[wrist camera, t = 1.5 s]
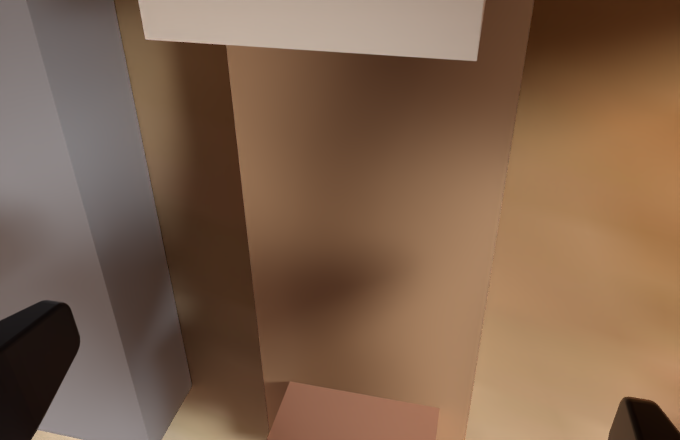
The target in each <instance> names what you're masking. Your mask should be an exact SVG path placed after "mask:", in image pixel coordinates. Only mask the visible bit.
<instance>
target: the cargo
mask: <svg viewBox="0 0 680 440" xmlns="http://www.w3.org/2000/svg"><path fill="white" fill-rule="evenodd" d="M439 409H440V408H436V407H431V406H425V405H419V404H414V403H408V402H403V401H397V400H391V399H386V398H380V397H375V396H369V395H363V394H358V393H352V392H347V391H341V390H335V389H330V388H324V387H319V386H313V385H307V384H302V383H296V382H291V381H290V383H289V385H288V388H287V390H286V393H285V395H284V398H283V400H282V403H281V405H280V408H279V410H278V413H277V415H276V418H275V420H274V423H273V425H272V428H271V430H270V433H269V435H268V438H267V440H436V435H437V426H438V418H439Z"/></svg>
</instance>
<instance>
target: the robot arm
mask: <svg viewBox="0 0 680 440" xmlns="http://www.w3.org/2000/svg"><path fill="white" fill-rule="evenodd" d="M79 347H80V335H79V331H78V328H77V325H76V322H75V319H74V316H73V313H72V310H71V308H70V306H69V305H68V304H66V303H64V302H58V301H52V300H42V301H40V302H38V303H36V304H33V305H31V306H29V307H27V308H25V309H23V310H21V311H19V312H17V313H15V314H13V315H11V316H8V317H6V318H4V319H2V320H0V440H31V439H32V438H33V436H34V434H35V433H36V431H37V429H38V428H39V426H40V424H41V422H42V420H43V419H44V417H45V415H46V413H47V411H48V409H49V407H50V405H51V403H52V401H53V399H54V397H55V395H56V393H57V391H58V390H59V388H60V386H61V384H62V382H63V380H64V378H65V376H66V374H67V372H68V370H69V368H70V366H71V364H72V362H73V360H74V358H75V356H76V354H77V352H78V350H79ZM608 440H680V432H679V431H678V430H677V428H676V427H675V426H674V424H673V423H672V422H671V421H670V419H669V418H668V417H667V416H666V414H665V413H664V412H663V411H662V409H661V408H660V407H659V406H658V405H657V404H656V403H655V402H653V401H651V400H646V399H640V398H634V397H624V398H623V399H622V400H621V402H620V404H619V407H618V410H617V413H616V415H615V418H614V421H613V424H612V427H611V429H610V432H609V437H608Z"/></svg>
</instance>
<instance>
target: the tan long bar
mask: <svg viewBox="0 0 680 440" xmlns="http://www.w3.org/2000/svg"><path fill="white" fill-rule="evenodd" d="M533 6H534V0H486V2H485V9H484V15H483V22H482V29H481V36H480V42H479V49H478V56H477V61H466V60H451V59H435V58H420V57H405V56H389V55H374V54H359V53H343V52H328V51H313V50H298V49H282V48H267V47H252V46H236V45H226V50H227V59H228V67H229V76H230V85H231V94H232V103H233V112H234V121H235V130H236V139H237V148H238V157H239V166H240V175H241V184H242V193H243V202H244V211H245V220H246V228H247V237H248V246H249V255H250V264H251V273H252V282H253V291H254V300H255V309H256V318H257V327H258V336H259V345H260V354H261V363H262V372H263V381H264V390H265V398H266V407H267V416H268V425H269V433H270V430H271V428H272V425H273V423H274V420H275V418H276V415H277V413H278V410H279V408H280V405H281V403H282V400H283V398H284V395H285V393H286V390H287V388H288V385H289V383H290V381H291V382H296V383H302V384H307V385H313V386H319V387H324V388H330V389H335V390H341V391H347V392H352V393H358V394H363V395H369V396H375V397H380V398H386V399H391V400H397V401H403V402H408V403H414V404H419V405H425V406H431V407H436V408H440V409H439V418H438V426H437V435H436V440H465V435H466V429H467V422H468V416H469V410H470V403H471V397H472V391H473V384H474V378H475V372H476V365H477V359H478V353H479V347H480V340H481V334H482V328H483V321H484V315H485V309H486V302H487V296H488V290H489V283H490V277H491V271H492V264H493V258H494V252H495V246H496V239H497V233H498V227H499V220H500V214H501V208H502V201H503V195H504V189H505V182H506V176H507V170H508V163H509V157H510V151H511V144H512V138H513V132H514V126H515V119H516V113H517V107H518V100H519V94H520V88H521V81H522V75H523V69H524V62H525V56H526V50H527V43H528V37H529V31H530V25H531V18H532V12H533Z"/></svg>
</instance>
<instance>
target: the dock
mask: <svg viewBox="0 0 680 440" xmlns="http://www.w3.org/2000/svg"><path fill="white" fill-rule="evenodd" d="M42 300H52V301H58V302H64V303H66V304H68V305H69V306H70V308H71V310H72V313H73V316H74V319H75V322H76V325H77V328H78V331H79V335H80V347H79V350H78V352H77V354H76V356H75V358H74V360H73V362H72V364H71V366H70V368H69V370H68V372H67V374H66V376H65V378H64V380H63V382H62V384H61V386H60V388H59V390H58V391H57V393H56V395H55V397H54V399H53V401H52V403H51V405H50V407H49V409H48V411H47V413H46V415H45V417H44V419H43V420H42V422H41V424H40V426H39V428H38V429H37V430H41V431H45V432H50V433H55V434H59V435H64V436H69V437H73V438H78V439H83V440H162V438H163V436H164V434H165V433H166V431H167V429H168V427H169V426H170V424H171V422H172V420H173V419H174V417H175V415H176V413H177V412H178V410H179V408H180V406H181V405H182V403H183V401H184V399H185V398H186V396H187V394H188V392H189V391H190V389H191V387H192V383H191V378H190V373H189V368H188V363H187V358H186V353H185V348H184V344H183V339H182V334H181V329H180V324H179V319H178V314H177V309H176V304H175V299H174V295H173V290H172V285H171V280H170V275H169V270H168V265H167V260H166V255H165V250H164V245H163V241H162V236H161V231H160V226H159V221H158V216H157V211H156V206H155V201H154V196H153V192H152V187H151V182H150V177H149V172H148V167H147V162H146V157H145V152H144V147H143V143H142V138H141V133H140V128H139V123H138V118H137V113H136V108H135V103H134V98H133V93H132V89H131V84H130V79H129V74H128V69H127V64H126V59H125V54H124V49H123V44H122V40H121V35H120V30H119V25H118V20H117V15H116V10H115V5H114V0H0V320H2V319H4V318H6V317H8V316H11V315H13V314H15V313H17V312H19V311H21V310H23V309H25V308H27V307H29V306H31V305H33V304H36V303H38V302H40V301H42Z"/></svg>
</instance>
